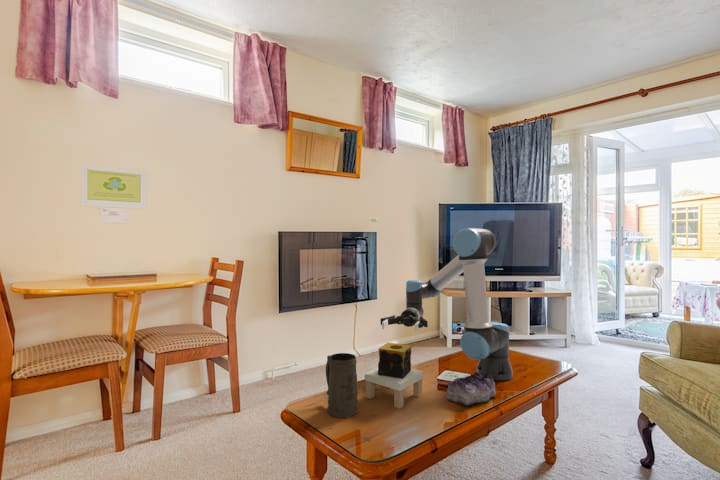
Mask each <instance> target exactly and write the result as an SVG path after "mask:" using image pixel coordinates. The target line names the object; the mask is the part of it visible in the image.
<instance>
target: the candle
mask: <svg viewBox="0 0 720 480" xmlns="http://www.w3.org/2000/svg"><path fill="white" fill-rule="evenodd" d="M378 356H379V357H378V359H379V360H378V364H377V365H378V366H377V368H378V375H384V376H389V377H396V378H402V379H403V378H404V377H405V376H406V375H407V374H408V373H409V372H410V371H411V369H412V363H411V362H412V361H411V360H412V359H411V358H412V345H409V344H402V343H394V342H386V343H385V344H384V345H382V346H380V347H379V348H378Z"/></svg>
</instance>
